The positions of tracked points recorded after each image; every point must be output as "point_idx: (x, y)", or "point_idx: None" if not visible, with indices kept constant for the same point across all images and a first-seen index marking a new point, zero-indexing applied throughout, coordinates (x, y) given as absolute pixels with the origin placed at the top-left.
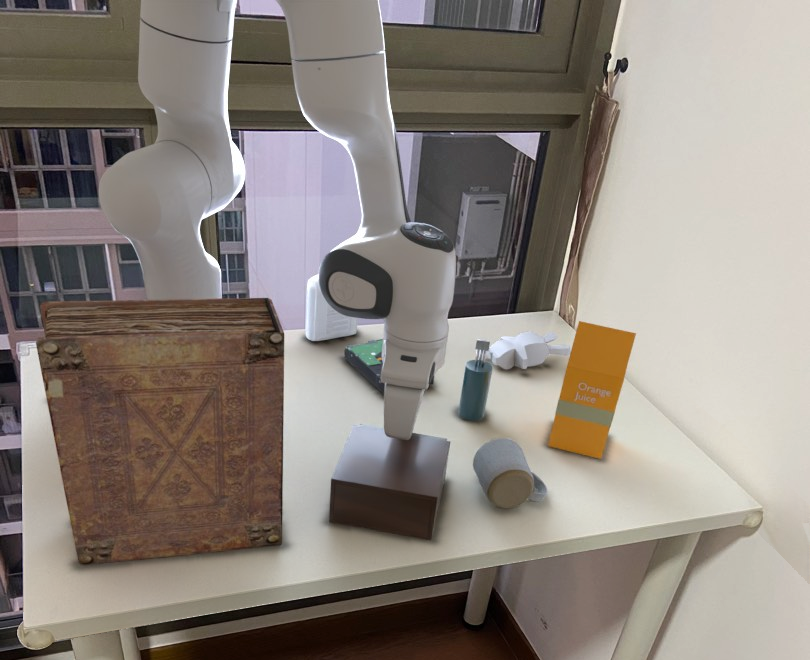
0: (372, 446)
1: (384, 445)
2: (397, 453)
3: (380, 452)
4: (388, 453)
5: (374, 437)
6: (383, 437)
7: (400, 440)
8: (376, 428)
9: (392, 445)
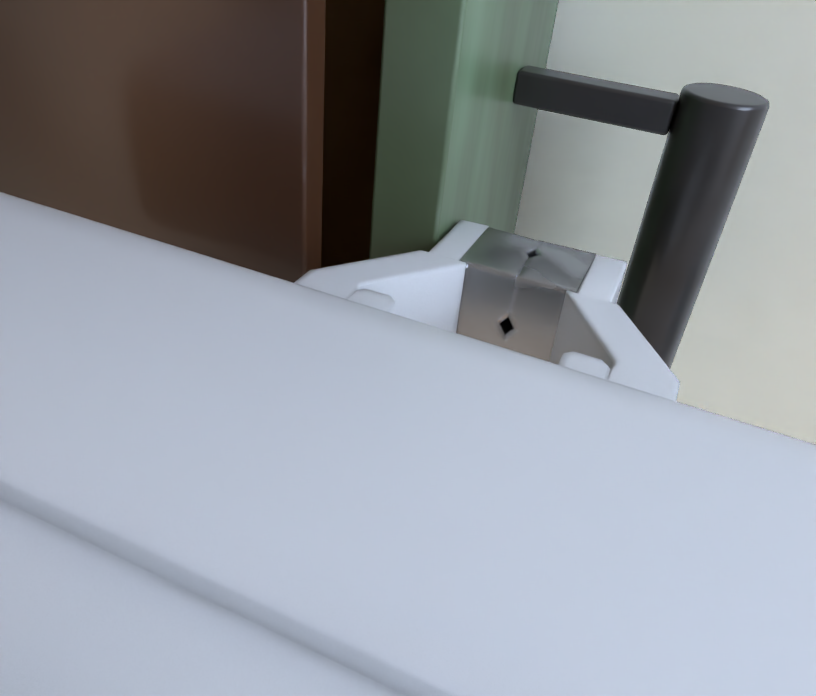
0: (36, 1)
1: (92, 112)
2: (55, 207)
3: (2, 77)
4: (21, 141)
5: (159, 14)
6: (194, 104)
7: (204, 247)
8: (423, 22)
9: (118, 178)
